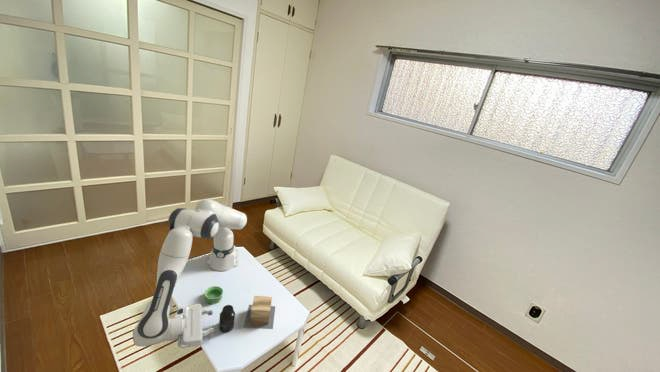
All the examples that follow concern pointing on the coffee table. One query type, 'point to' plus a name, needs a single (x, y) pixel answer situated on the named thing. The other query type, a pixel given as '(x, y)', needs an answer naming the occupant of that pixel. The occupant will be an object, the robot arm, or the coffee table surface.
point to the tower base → (259, 320)
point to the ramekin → (213, 294)
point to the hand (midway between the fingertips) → (213, 320)
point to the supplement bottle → (226, 319)
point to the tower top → (261, 306)
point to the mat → (264, 326)
